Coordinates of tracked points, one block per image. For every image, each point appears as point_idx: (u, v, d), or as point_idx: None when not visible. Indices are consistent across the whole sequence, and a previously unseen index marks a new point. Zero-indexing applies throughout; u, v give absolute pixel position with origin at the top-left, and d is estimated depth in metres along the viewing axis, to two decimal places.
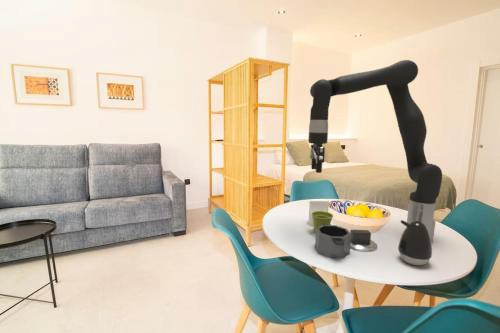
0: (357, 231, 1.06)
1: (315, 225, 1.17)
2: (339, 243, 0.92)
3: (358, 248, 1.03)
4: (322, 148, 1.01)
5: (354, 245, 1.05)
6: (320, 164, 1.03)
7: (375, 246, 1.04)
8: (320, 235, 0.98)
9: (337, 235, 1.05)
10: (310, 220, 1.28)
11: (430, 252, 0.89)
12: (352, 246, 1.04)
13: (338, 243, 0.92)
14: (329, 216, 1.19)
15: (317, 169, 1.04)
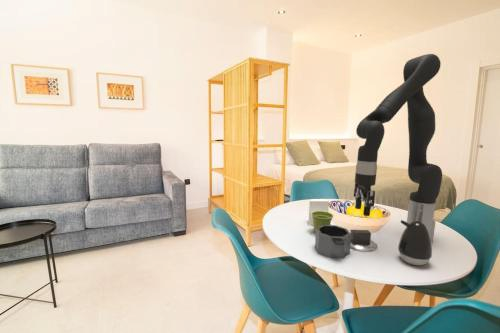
0: (357, 231, 1.06)
1: (315, 225, 1.17)
2: (339, 243, 0.92)
3: (358, 248, 1.03)
4: (372, 192, 0.97)
5: (354, 245, 1.05)
6: (369, 207, 1.00)
7: (375, 246, 1.04)
8: (320, 235, 0.98)
9: (337, 235, 1.05)
10: (310, 220, 1.28)
11: (430, 252, 0.89)
12: (352, 246, 1.04)
13: (338, 243, 0.92)
14: (329, 216, 1.19)
15: (365, 212, 1.00)
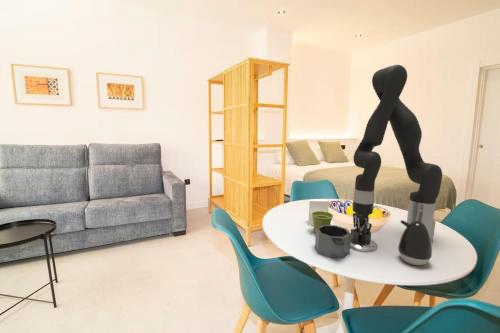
0: (357, 230, 1.06)
1: (315, 225, 1.17)
2: (339, 243, 0.92)
3: (358, 247, 1.02)
4: (369, 225, 0.99)
5: (354, 244, 1.05)
6: (364, 236, 1.04)
7: (375, 245, 1.04)
8: (320, 235, 0.98)
9: (337, 235, 1.05)
10: (310, 220, 1.28)
11: (430, 252, 0.89)
12: (352, 245, 1.04)
13: (338, 243, 0.92)
14: (329, 216, 1.19)
15: (360, 240, 1.05)
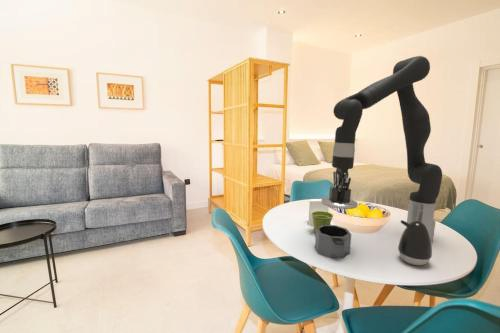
0: (336, 188, 0.99)
1: (315, 225, 1.17)
2: (339, 243, 0.92)
3: (336, 204, 0.95)
4: (348, 179, 0.92)
5: (333, 202, 0.98)
6: (343, 193, 0.97)
7: (355, 203, 0.97)
8: (320, 235, 0.98)
9: (337, 235, 1.05)
10: (310, 220, 1.28)
11: (430, 252, 0.89)
12: (330, 203, 0.97)
13: (338, 243, 0.92)
14: (329, 216, 1.19)
15: (339, 198, 0.97)
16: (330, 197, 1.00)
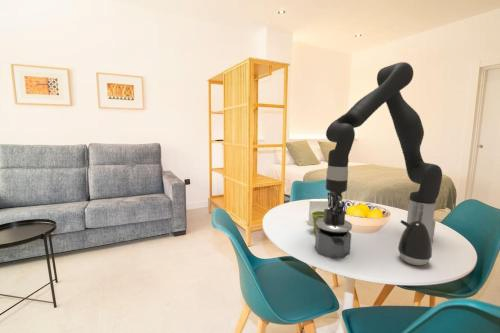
0: (331, 210, 0.99)
1: (315, 225, 1.17)
2: (339, 243, 0.92)
3: (331, 228, 0.95)
4: (342, 203, 0.92)
5: (327, 225, 0.98)
6: (337, 216, 0.97)
7: (349, 226, 0.97)
8: (320, 235, 0.98)
9: (337, 235, 1.05)
10: (310, 220, 1.28)
11: (430, 252, 0.89)
12: (325, 226, 0.97)
13: (338, 243, 0.92)
14: None
15: (334, 220, 0.97)
16: (324, 219, 1.00)
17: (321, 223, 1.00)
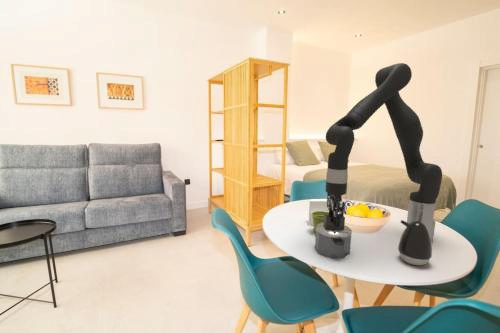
0: (330, 216, 1.00)
1: (315, 225, 1.17)
2: (339, 243, 0.92)
3: (330, 233, 0.96)
4: (342, 203, 0.92)
5: (327, 230, 0.98)
6: (338, 218, 0.95)
7: (349, 231, 0.98)
8: (320, 235, 0.98)
9: None
10: (310, 220, 1.28)
11: (430, 252, 0.89)
12: (324, 231, 0.97)
13: (338, 243, 0.92)
14: None
15: (335, 223, 0.96)
16: (324, 225, 1.00)
17: (321, 229, 1.00)
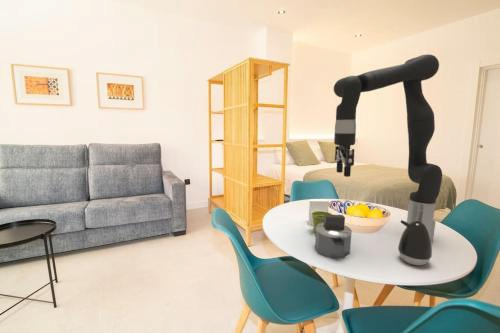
0: (330, 216, 1.00)
1: (315, 225, 1.17)
2: (339, 243, 0.92)
3: (330, 233, 0.96)
4: (351, 150, 0.93)
5: (327, 230, 0.98)
6: (349, 167, 0.96)
7: (349, 231, 0.98)
8: (320, 235, 0.98)
9: None
10: (310, 220, 1.28)
11: (430, 252, 0.89)
12: (324, 231, 0.97)
13: (338, 243, 0.92)
14: None
15: (346, 173, 0.96)
16: (324, 225, 1.00)
17: (321, 229, 1.00)
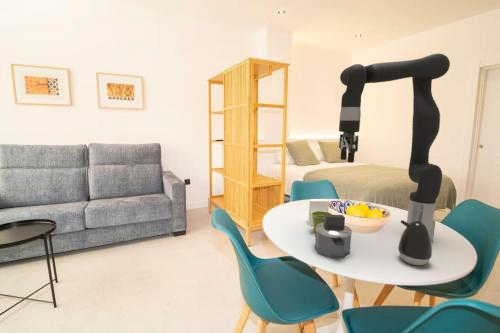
0: (330, 216, 1.00)
1: (315, 225, 1.17)
2: (339, 243, 0.92)
3: (330, 233, 0.96)
4: (356, 136, 0.96)
5: (327, 230, 0.98)
6: (353, 153, 0.98)
7: (349, 231, 0.98)
8: (320, 235, 0.98)
9: None
10: (310, 220, 1.28)
11: (430, 252, 0.89)
12: (324, 231, 0.97)
13: (338, 243, 0.92)
14: None
15: (349, 159, 0.99)
16: (324, 225, 1.00)
17: (321, 229, 1.00)
